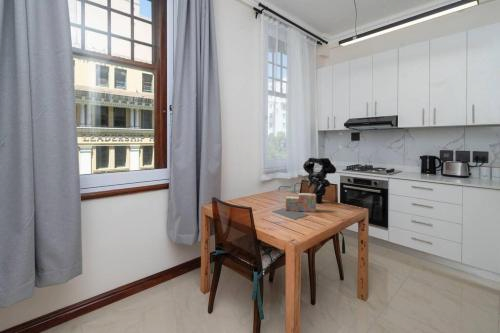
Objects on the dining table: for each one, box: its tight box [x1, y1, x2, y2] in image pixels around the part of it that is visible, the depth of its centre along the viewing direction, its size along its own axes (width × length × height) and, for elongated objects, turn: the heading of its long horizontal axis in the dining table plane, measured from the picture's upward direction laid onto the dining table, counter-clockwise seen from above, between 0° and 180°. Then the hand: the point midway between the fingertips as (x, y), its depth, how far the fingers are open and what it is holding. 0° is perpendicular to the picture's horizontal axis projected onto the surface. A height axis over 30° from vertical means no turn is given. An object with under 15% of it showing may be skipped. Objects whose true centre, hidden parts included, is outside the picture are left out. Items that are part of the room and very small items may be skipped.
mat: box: [271, 207, 309, 220], centre depth 171 cm, size 14×22×1 cm, turn 38°
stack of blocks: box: [284, 192, 317, 213], centre depth 177 cm, size 21×6×12 cm, turn 84°
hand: (312, 189), depth 186 cm, fingers open, 9 cm apart
